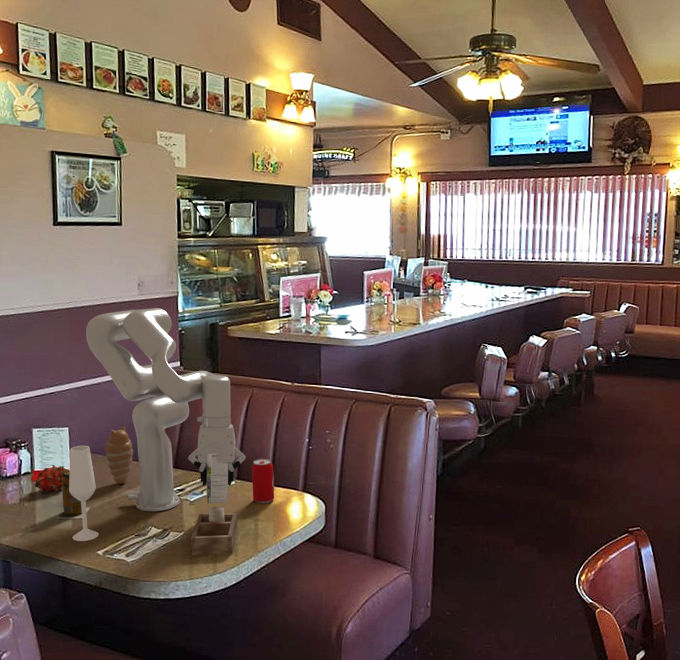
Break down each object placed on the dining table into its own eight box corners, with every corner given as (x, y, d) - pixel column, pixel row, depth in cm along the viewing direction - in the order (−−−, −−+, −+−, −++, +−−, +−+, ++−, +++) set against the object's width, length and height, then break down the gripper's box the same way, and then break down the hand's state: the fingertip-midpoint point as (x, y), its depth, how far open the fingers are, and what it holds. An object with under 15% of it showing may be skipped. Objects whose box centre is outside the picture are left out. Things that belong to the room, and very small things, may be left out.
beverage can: (276, 497, 236) (274, 458, 234) (272, 504, 230) (270, 464, 228) (255, 496, 236) (254, 458, 235) (251, 504, 230) (249, 464, 229)
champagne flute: (66, 539, 207) (60, 450, 204) (83, 529, 213) (77, 443, 210) (87, 542, 205) (81, 452, 202) (104, 532, 211) (98, 445, 208)
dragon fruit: (73, 489, 250) (40, 506, 241) (57, 471, 253) (24, 487, 244) (78, 472, 245) (45, 489, 236) (62, 454, 248) (28, 469, 239)
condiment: (90, 507, 230) (87, 468, 228) (82, 518, 222) (79, 477, 220) (65, 508, 230) (62, 468, 228) (55, 519, 221) (52, 478, 220)
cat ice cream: (125, 477, 257) (122, 423, 254) (140, 482, 252) (137, 427, 249) (102, 484, 250) (98, 429, 247) (117, 489, 245) (113, 433, 242)
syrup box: (206, 496, 221) (205, 446, 218) (227, 495, 222) (227, 445, 220) (207, 504, 215) (206, 453, 213) (229, 502, 216) (228, 451, 214)
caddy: (191, 555, 196) (190, 528, 195) (200, 530, 212) (198, 505, 211) (232, 553, 196) (231, 527, 195) (237, 529, 212) (236, 504, 211)
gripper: (182, 424, 211) (183, 489, 214) (247, 424, 212) (247, 488, 214) (186, 417, 218) (187, 479, 221) (249, 417, 219) (249, 479, 222)
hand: (217, 483), depth 218 cm, fingers closed on syrup box, 6 cm apart
